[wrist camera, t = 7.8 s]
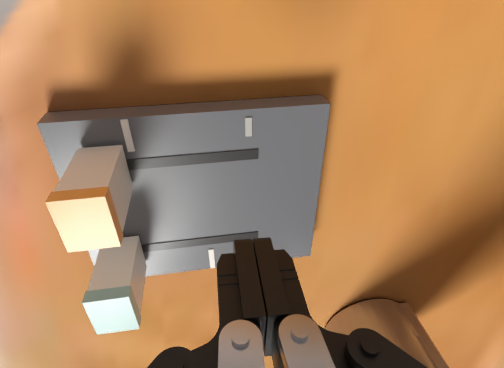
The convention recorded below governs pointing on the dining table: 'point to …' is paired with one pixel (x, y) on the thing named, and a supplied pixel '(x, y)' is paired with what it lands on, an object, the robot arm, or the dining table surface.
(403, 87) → the dining table surface
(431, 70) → the dining table surface
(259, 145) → the console
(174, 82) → the dining table surface
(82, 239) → the fader
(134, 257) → the block
